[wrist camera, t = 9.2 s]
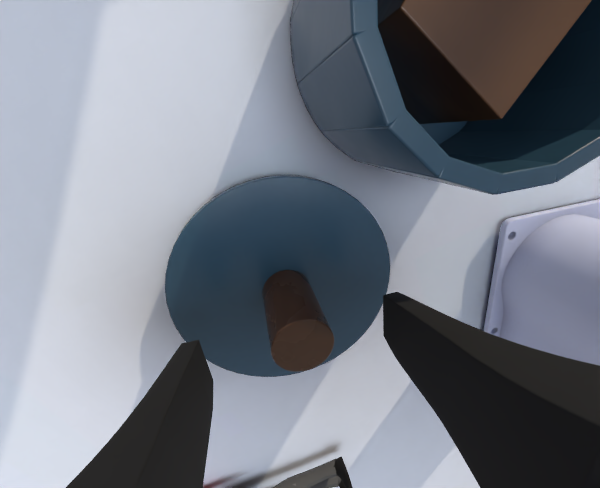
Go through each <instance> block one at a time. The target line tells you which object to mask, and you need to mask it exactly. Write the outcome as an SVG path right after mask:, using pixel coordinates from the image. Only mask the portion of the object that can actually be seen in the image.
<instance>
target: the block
mask: <svg viewBox="0 0 600 488" xmlns="http://www.w3.org/2000/svg"><path fill="white" fill-rule="evenodd" d="M591 1H592V0H377V3H378V29H379V32H380V35H381V38H382V40H383V43H384V46H385V49H386V52H387V55H388V58H389V61H390V64H391V67H392V70H393V73H394V75H395V78H396V81H397V84H398V87H399V90H400V93H401V96H402V99H403V102H404V105H405V108H406V110H407V111H408V112H409V113H410V114H411V116H412V117H413V118H414V119H415V120H416V121H417V122H418V123H419V124H428V123H445V122H461V121H478V120H495V119H502V118H503V117H504V115H505V114H506V113H507V111H508V110H509V109H510V108H511V106H512V105H513V104H514V102H515V101H516V100H517V98H518V97H519V96H520V94H521V93H522V92H523V90H524V89H525V88H526V86H527V85H528V84H529V82H530V81H531V80H532V79H533V77H534V76H535V75H536V73H537V72H538V71H539V69H540V68H541V67H542V65H543V64H544V63H545V61H546V60H547V59H548V57H549V56H550V55H551V54H552V52H553V51H554V50H555V48H556V47H557V46H558V44H559V43H560V42H561V40H562V39H563V38H564V36H565V35H566V34H567V32H568V31H569V30H570V28H571V27H572V26H573V25H574V23H575V22H576V21H577V19H578V18H579V17H580V15H581V14H582V13H583V11H584V10H585V9H586V7H587V6H588V5H589V3H590V2H591Z"/></svg>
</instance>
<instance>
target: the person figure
mask: <svg viewBox="0 0 600 488" xmlns="http://www.w3.org/2000/svg"><path fill="white" fill-rule="evenodd" d="M338 486H339V487H340V488H352V485H351V481H350V478H349V475H348V472H347V469H346V467H345V464H344V462H343V459H342V457H339V458H337V459H334V460H332V461H330V462H327V463H325V464H323V465H320V466H318V467H315V468H313V469H310V470H308V471H305V472H303V473H300V474H297V475H295V476H292V477H290V478H287V479H286V480H284V481H283V482H281V483H279V484H278V485H276V486H275V487H273V488H332V487H338Z"/></svg>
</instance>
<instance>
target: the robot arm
mask: <svg viewBox="0 0 600 488" xmlns="http://www.w3.org/2000/svg"><path fill="white" fill-rule="evenodd" d="M383 322H384V337H385V339H386V341H387V343H388V345H389V347H390V348H391V350H392V352H393V354H394V355H395V357H396V359H397V360H398V362H399V363H400V364H401V366H402V367H403V369H404V370H405V371H406V373H407V374H408V376H409V377H410V378H411V380H412V381H413V382H414V384H415V385H416V386H417V388H418V389H419V391H420V392H421V393H422V395H423V396H424V397H425V399H426V400H427V401H428V403H429V404H430V406H431V407H432V408H433V410H434V411H435V413H436V414H437V416H438V417H439V419H440V420H441V421H442V423H443V425H444V426H445V428H446V430H447V431H448V433H449V435H450V436H451V438H452V440H453V441H454V443H455V444H456V446H457V448H458V449H459V451H460V453H461V455H462V456H463V458H464V460H465V461H466V463H467V465H468V467H469V468H470V470H471V472H472V474H473V475H474V477H475V479H476V481H477V482H478V484H479V486H480V488H600V199H597V200H592V201H588V202H583V203H578V204H573V205H569V206H564V207H559V208H554V209H550V210H545V211H540V212H535V213H530V214H526V215H521V216H516V217H511V218H508V219H506V220H505V221H504V222H503V223H502V225H501V228H500V234H499V240H498V246H497V252H496V258H495V264H494V270H493V276H492V282H491V288H490V295H489V301H488V307H487V313H486V319H485V325H484V331H482V330H479V329H477V328H475V327H472V326H470V325H467V324H465V323H463V322H460V321H458V320H456V319H454V318H451V317H449V316H447V315H445V314H443V313H441V312H438V311H436V310H434V309H432V308H430V307H428V306H426V305H424V304H422V303H420V302H418V301H416V300H414V299H412V298H410V297H408V296H405V295H403V294H401V293H399V292H395V293H391V294H387V295H383ZM212 411H213V379H212V376H211V373H210V370H209V367H208V364H207V361H206V359H205V356H204V353H203V350H202V347H201V344H200V341H199V340H195V341H191V342H187V343H182V344H181V345H180V347H179V348H178V349H177V351H176V352H175V354H174V355H173V357H172V358H171V359H170V361H169V362H168V364H167V365H166V367H165V368H164V370H163V371H162V373H161V374H160V375H159V377H158V378H157V380H156V381H155V382H154V384H153V385H152V387H151V388H150V389H149V391H148V392H147V394H146V395H145V396H144V398H143V399H142V400H141V402H140V403H139V404H138V406H137V407H136V408H135V409H134V411H133V412H132V413H131V415H130V416H129V417H128V418H127V420H126V421H125V422H124V424H123V425H122V426H121V427H120V428H119V430H118V431H117V432H116V433H115V434H114V436H113V437H112V438H111V439H110V440H109V442H108V443H107V444H106V445H105V446H104V447H103V448H102V449H101V451H100V452H99V453H98V454H97V455H96V456H95V457H94V458H93V460H92V461H91V462H90V463H89V464H88V465H87V466H86V467H85V468H84V469H83V470H82V471H81V472H80V473H79V475H78V476H77V477H76V478H75V479H74V480H73V481H72V482H71V483H70V484H69V485H68V486H67V487H66V488H203V479H204V472H205V464H206V457H207V449H208V442H209V435H210V427H211V419H212Z"/></svg>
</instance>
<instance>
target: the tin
mask: <svg viewBox="0 0 600 488" xmlns="http://www.w3.org/2000/svg"><path fill="white" fill-rule="evenodd" d="M290 22H291V23H290V26H291V50H292V60H293V66H294V71H295V77H296V80H297V83H298V87H299V90H300V93H301V96H302V98H303V101H304V103H305V105H306V108H307V110H308V112H309V113H310V115H311V117H312V118H313V120H314V122H315V124H316V125H317V126H318V128H319V129H320V130H321V131H322V133H323V134H324V135H325V136H326V137H327V138H328V139H329V140H330V141H331V142H332V143H333V144H334V145H335V146H336V147H337V148H338V149H340V150H341V151H342V152H344V153H345V154H347V155H349V156H350V157H351V158H352V159H354V160H355V161H359V162H362V163H366V164H369V165H373V166H377V167H380V168H384V169H387V170H391V171H395V172H399V173H404V174H408V175H412V176H416V177H420V178H425V179H429V180H433V181H437V182H442V183H446V184H450V185H454V186H459V187H463V188H467V189H471V190H475V191H480V192H484V193H488V194H492V195H494V194H501V193H506V192H511V191H516V190H521V189H526V188H532V187H537V186H542V185H547V184H552V183H554V182H557V181H559V180H561V179H562V178H564V177H566V176H567V175H569V174H571V173H572V172H574V171H575V170H577V169H579V168H580V167H582V166H584V165H585V164H587V163H588V162H590V161H592V160H593V159H595V158H597V157H598V156H600V0H592V1H591V2H590V3H589V5H588V6H587V7H586V9H585V10H584V11H583V13H582V14H581V15H580V17H579V18H578V19H577V21H576V22H575V23H574V25H573V26H572V27H571V28H570V30H569V31H568V32H567V34H566V35H565V36H564V38H563V39H562V40H561V42H560V43H559V44H558V46H557V47H556V48H555V50H554V51H553V52H552V54H551V55H550V56H549V57H548V59H547V60H546V61H545V63H544V64H543V65H542V67H541V68H540V69H539V71H538V72H537V73H536V75H535V76H534V77H533V79H532V80H531V81H530V82H529V84H528V85H527V86H526V88H525V89H524V90H523V92H522V93H521V94H520V96H519V97H518V98H517V100H516V101H515V102H514V104H513V105H512V106H511V108H510V109H509V110H508V111H507V113H506V114H505V115H504V117H503V118H502V119H495V120H478V121H461V122H445V123H428V124H419V123H418V122H417V121H416V120H415V119H414V118H413V117H412V116H411V114H410V113H409V112H408V111H407V110H406V108H405V105H404V102H403V99H402V96H401V93H400V90H399V87H398V84H397V81H396V78H395V75H394V73H393V70H392V67H391V64H390V61H389V58H388V55H387V52H386V49H385V46H384V43H383V40H382V38H381V35H380V32H379V29H378V3H377V0H294V3H293V9H292V15H291V20H290Z"/></svg>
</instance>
